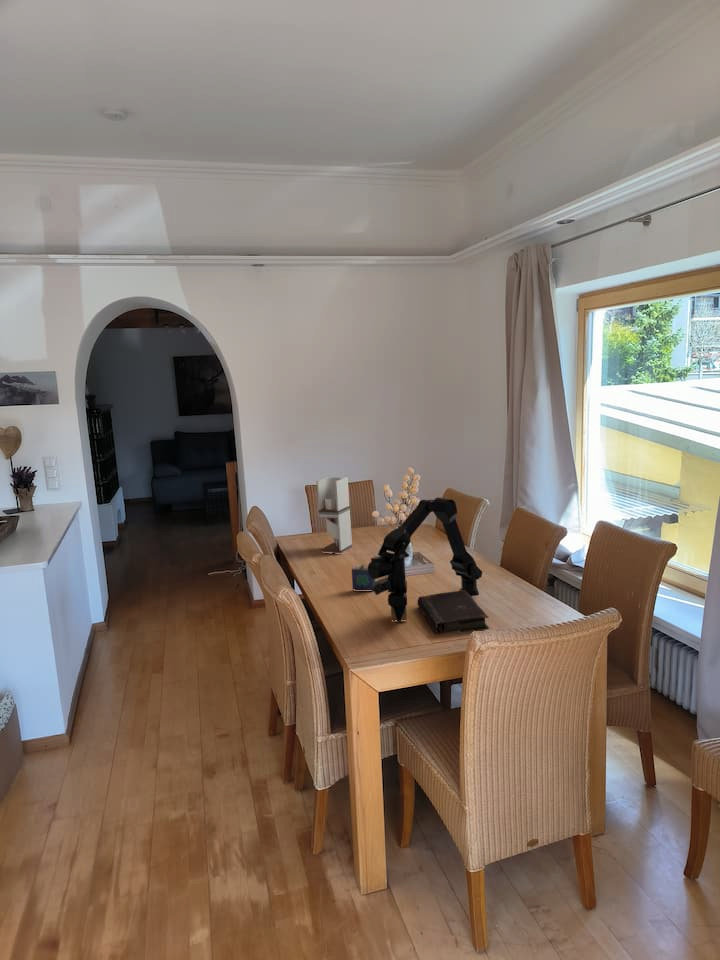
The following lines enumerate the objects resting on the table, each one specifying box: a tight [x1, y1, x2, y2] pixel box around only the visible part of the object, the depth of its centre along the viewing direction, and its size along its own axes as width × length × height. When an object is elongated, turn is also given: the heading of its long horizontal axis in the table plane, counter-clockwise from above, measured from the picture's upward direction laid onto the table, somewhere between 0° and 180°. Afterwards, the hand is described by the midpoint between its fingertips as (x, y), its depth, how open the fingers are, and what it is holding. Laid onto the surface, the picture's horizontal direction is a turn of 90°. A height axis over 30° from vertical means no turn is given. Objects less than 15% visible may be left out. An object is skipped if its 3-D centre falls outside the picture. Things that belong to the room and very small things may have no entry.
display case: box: [316, 476, 353, 553], centre depth 303 cm, size 11×11×35 cm
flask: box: [351, 563, 377, 590], centre depth 246 cm, size 9×3×11 cm, turn 78°
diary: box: [417, 590, 490, 636], centre depth 215 cm, size 19×25×5 cm
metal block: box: [390, 606, 408, 621], centre depth 216 cm, size 5×5×6 cm
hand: (399, 615), depth 217 cm, fingers open, 9 cm apart
